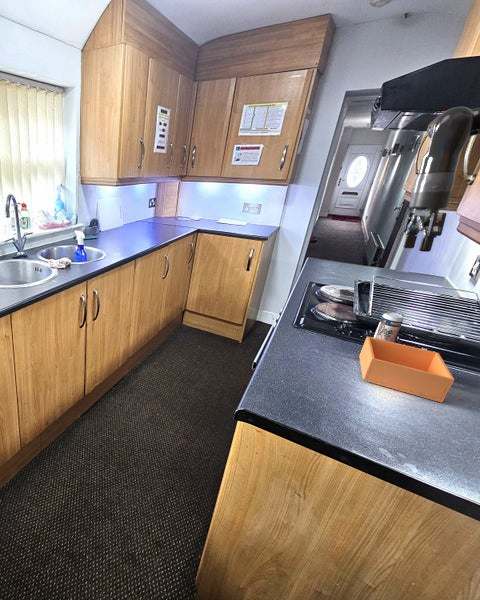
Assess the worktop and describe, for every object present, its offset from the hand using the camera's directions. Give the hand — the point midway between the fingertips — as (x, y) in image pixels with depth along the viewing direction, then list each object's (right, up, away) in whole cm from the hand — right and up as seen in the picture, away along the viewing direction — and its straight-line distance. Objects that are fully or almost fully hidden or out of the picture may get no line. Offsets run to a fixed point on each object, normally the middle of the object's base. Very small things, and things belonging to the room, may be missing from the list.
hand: (416, 249), depth 94 cm
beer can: (-2, -30, +9) cm, 32 cm away
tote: (-10, -36, -5) cm, 37 cm away
